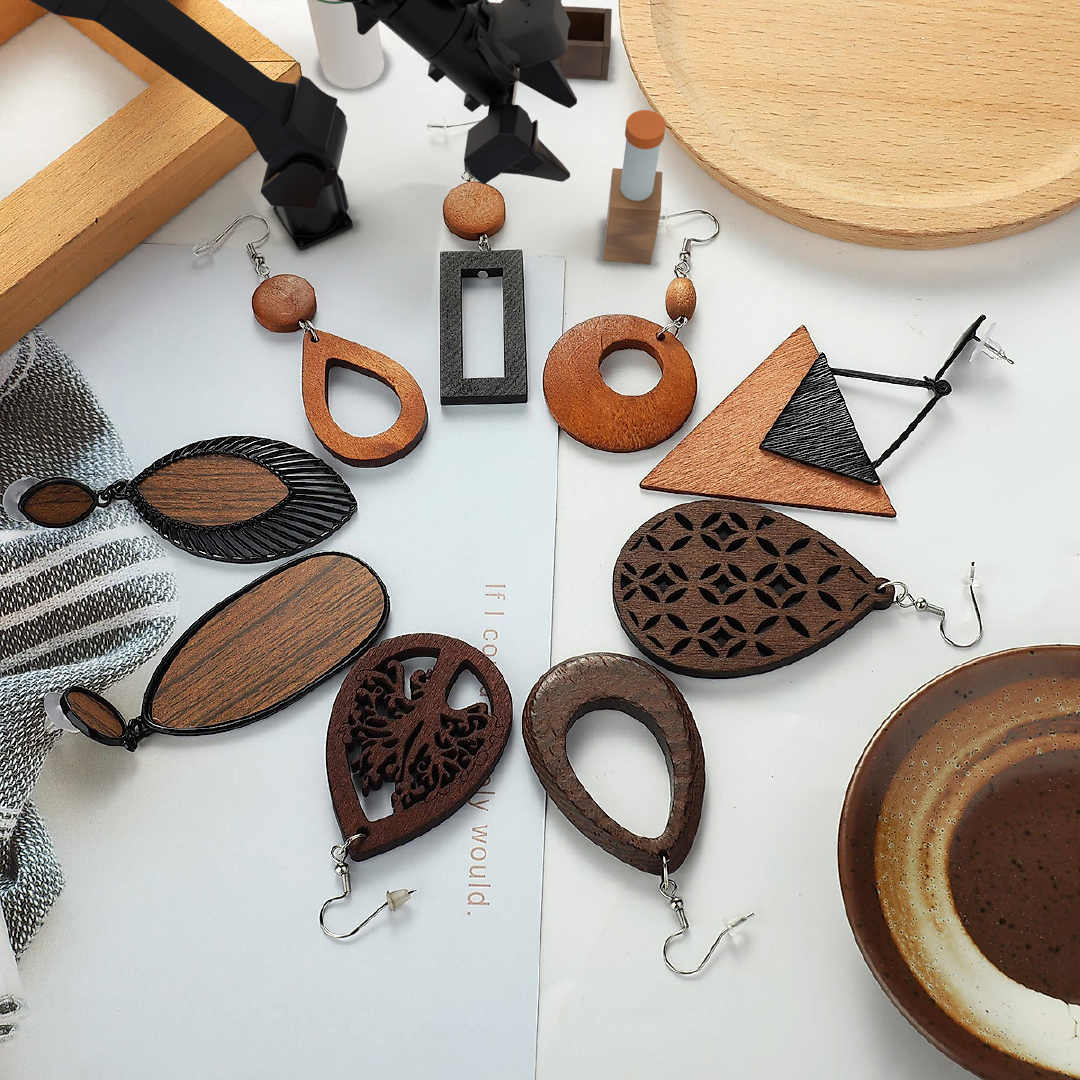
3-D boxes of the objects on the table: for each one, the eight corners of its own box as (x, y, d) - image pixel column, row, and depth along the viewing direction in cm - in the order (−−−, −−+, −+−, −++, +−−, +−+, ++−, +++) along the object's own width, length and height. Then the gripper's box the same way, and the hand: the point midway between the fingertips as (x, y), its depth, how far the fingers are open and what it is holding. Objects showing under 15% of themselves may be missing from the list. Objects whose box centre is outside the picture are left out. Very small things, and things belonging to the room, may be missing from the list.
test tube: (631, 208, 95) (640, 144, 87) (611, 183, 96) (618, 119, 89) (661, 193, 96) (673, 129, 88) (641, 169, 97) (651, 104, 89)
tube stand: (603, 261, 102) (609, 206, 95) (606, 223, 104) (612, 167, 97) (651, 264, 102) (660, 210, 95) (652, 227, 104) (662, 171, 97)
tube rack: (460, 72, 113) (458, 38, 109) (465, 35, 115) (463, 0, 111) (607, 80, 113) (610, 46, 108) (608, 42, 115) (611, 8, 111)
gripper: (498, 53, 72) (632, 175, 82) (521, -109, 79) (642, 21, 89) (405, 130, 79) (538, 233, 89) (434, -26, 87) (554, 86, 97)
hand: (570, 140), depth 91 cm, fingers open, 9 cm apart
